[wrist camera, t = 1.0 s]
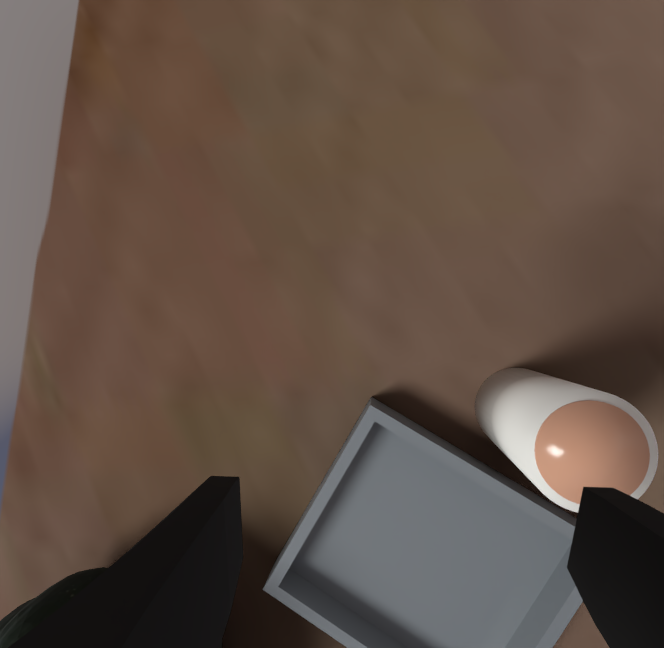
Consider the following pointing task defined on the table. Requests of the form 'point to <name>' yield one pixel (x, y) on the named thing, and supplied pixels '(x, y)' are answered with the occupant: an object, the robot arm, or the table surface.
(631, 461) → the cup
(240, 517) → the robot arm
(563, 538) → the tray
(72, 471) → the table surface
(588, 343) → the table surface
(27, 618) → the squash
